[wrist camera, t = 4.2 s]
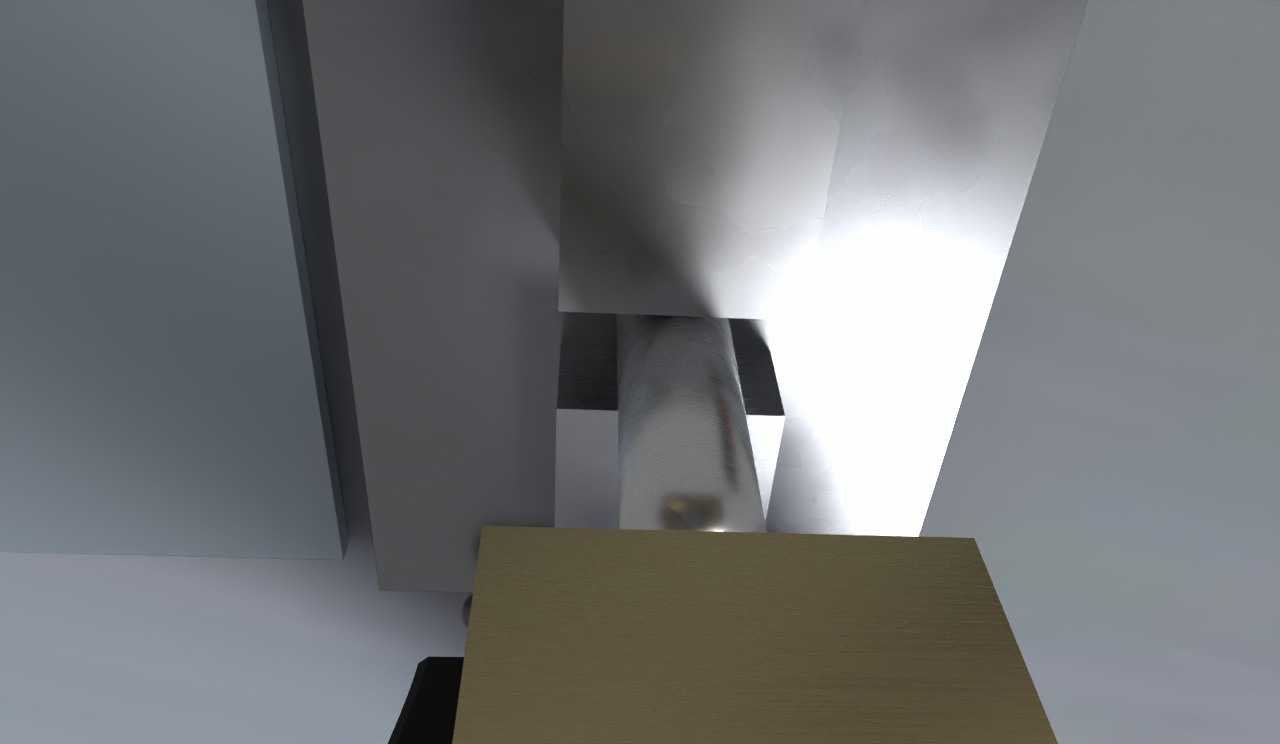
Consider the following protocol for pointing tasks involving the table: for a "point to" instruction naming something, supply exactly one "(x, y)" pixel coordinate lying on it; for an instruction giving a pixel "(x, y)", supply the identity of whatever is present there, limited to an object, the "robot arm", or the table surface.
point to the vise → (668, 255)
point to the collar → (739, 641)
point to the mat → (155, 290)
